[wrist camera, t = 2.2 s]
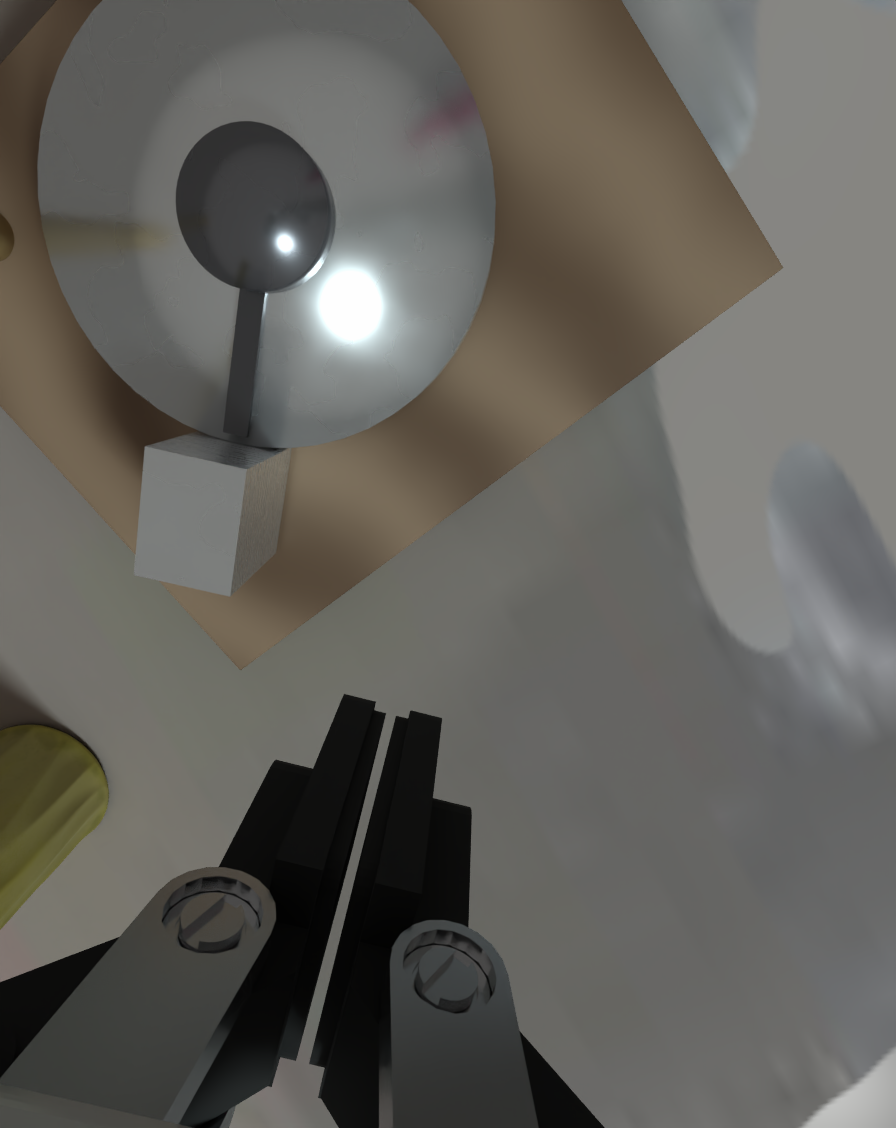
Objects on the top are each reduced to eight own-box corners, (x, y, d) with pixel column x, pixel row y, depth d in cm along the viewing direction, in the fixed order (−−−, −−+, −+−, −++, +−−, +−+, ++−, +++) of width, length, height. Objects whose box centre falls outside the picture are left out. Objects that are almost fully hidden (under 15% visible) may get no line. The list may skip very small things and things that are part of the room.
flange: (78, -87, 21) (-41, -212, 16) (544, 21, 21) (559, -71, 16) (50, 501, 26) (-44, 535, 21) (421, 585, 26) (406, 636, 21)
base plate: (398, -327, 20) (365, -566, 15) (765, 272, 24) (842, 251, 19) (-117, 243, 25) (-276, 215, 20) (252, 654, 29) (200, 721, 24)
